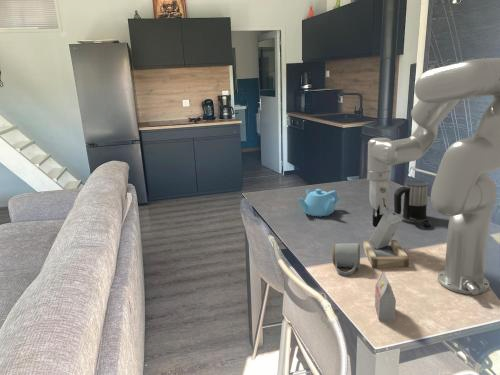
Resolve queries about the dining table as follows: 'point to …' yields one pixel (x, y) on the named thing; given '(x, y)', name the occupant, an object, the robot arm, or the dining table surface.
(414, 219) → the black and silver appliance
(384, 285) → the tea bag
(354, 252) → the ceramic mug
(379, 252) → the wooden tray
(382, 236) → the skincare box
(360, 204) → the dining table surface
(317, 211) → the teapot
